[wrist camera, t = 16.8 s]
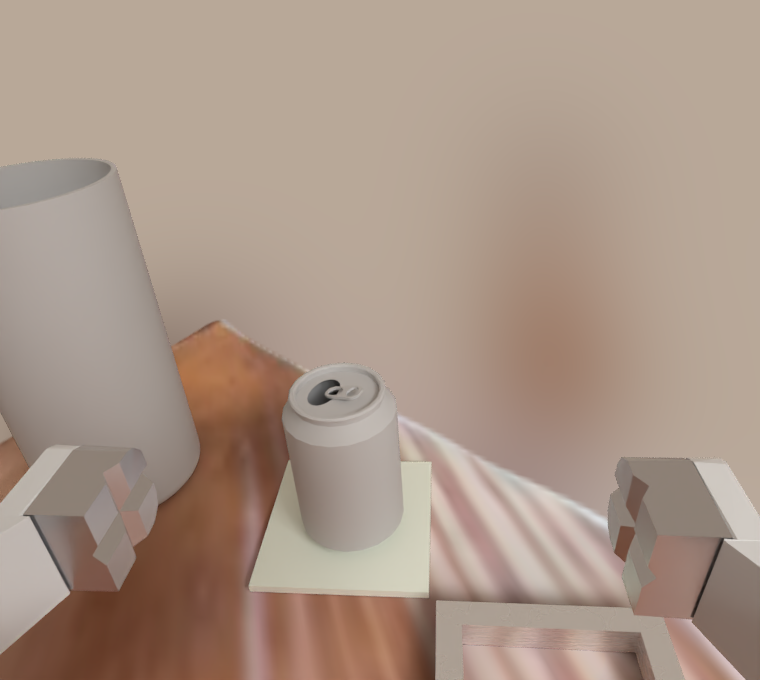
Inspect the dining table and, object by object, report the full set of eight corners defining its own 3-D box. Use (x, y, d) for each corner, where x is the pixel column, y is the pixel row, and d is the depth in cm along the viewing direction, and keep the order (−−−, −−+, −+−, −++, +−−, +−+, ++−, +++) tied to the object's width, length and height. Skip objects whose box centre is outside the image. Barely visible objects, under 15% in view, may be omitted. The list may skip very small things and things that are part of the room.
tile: (249, 591, 39) (248, 585, 39) (289, 465, 49) (288, 460, 49) (429, 598, 38) (428, 592, 37) (431, 467, 48) (431, 461, 47)
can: (332, 471, 47) (313, 347, 41) (419, 495, 44) (412, 365, 38) (284, 542, 41) (253, 409, 35) (380, 574, 39) (365, 436, 32)
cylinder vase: (34, 548, 43) (-146, 231, 30) (62, 444, 54) (-63, 174, 41) (205, 504, 46) (106, 195, 33) (200, 412, 56) (123, 149, 43)
